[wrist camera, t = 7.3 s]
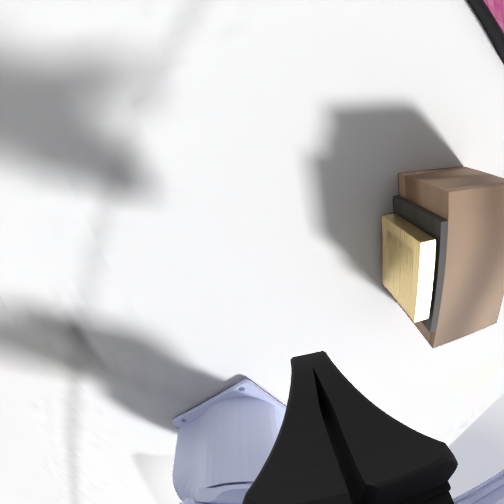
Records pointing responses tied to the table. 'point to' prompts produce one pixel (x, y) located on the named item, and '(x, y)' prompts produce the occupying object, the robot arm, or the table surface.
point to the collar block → (458, 246)
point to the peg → (408, 265)
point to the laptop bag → (491, 21)
